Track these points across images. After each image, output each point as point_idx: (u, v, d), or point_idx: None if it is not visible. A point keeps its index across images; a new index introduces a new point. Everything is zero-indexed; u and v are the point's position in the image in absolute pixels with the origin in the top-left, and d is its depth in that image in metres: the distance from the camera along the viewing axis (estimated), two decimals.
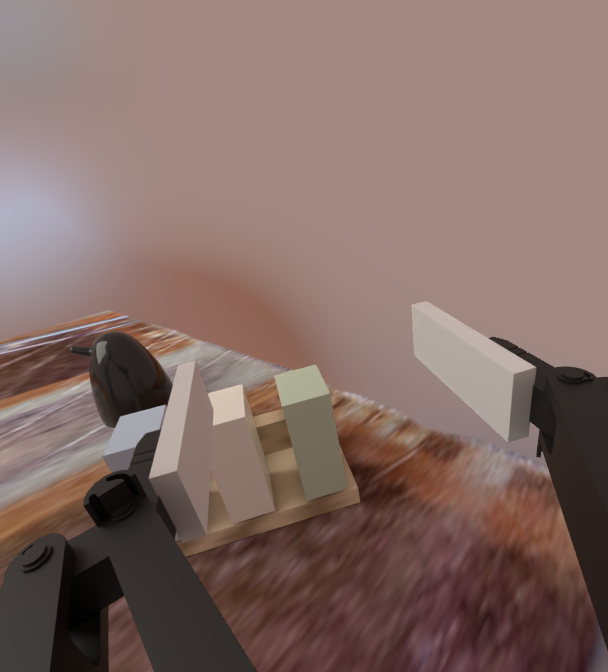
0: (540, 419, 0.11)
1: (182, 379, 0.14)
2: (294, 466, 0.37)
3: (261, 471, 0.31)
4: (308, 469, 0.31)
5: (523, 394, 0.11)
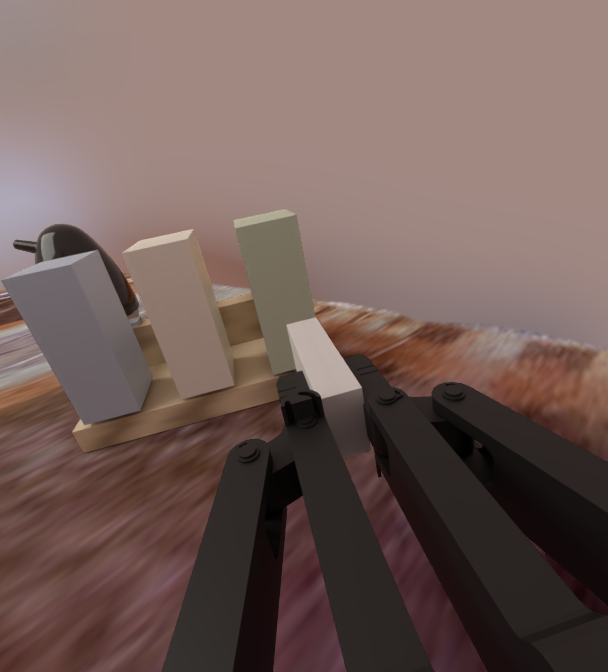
0: (373, 443, 0.11)
1: (297, 334, 0.16)
2: (263, 352, 0.31)
3: (213, 325, 0.25)
4: (273, 327, 0.25)
5: (355, 412, 0.12)
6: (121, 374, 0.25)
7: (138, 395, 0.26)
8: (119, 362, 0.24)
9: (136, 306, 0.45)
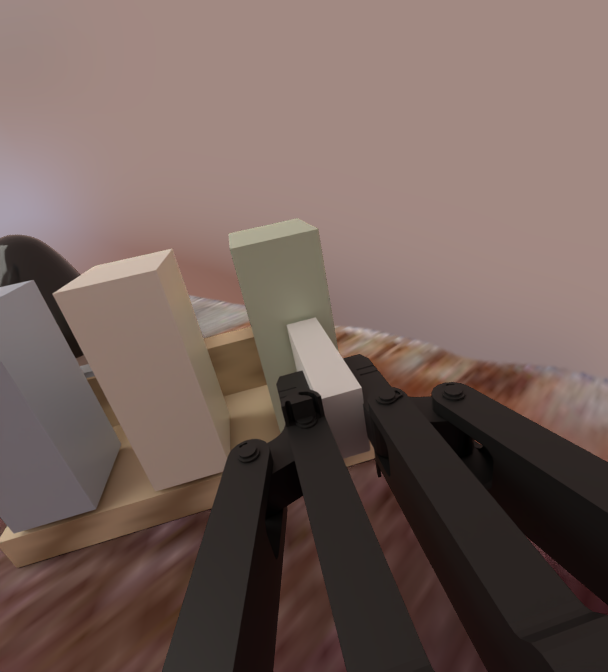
0: (373, 443, 0.11)
1: (298, 334, 0.16)
2: (269, 408, 0.24)
3: (199, 392, 0.17)
4: None
5: (354, 412, 0.12)
6: (63, 464, 0.17)
7: (93, 486, 0.18)
8: (60, 448, 0.17)
9: None
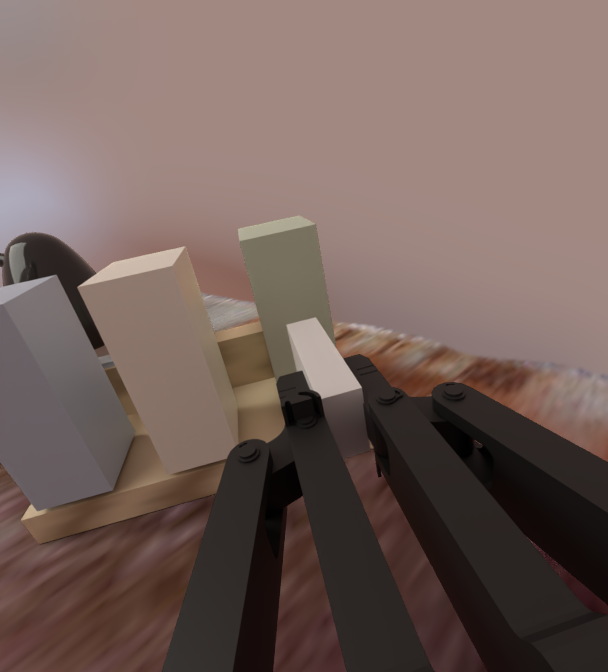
0: (373, 443, 0.11)
1: (298, 334, 0.16)
2: (275, 399, 0.25)
3: (210, 381, 0.18)
4: (285, 359, 0.21)
5: (354, 412, 0.12)
6: (84, 446, 0.18)
7: (110, 468, 0.20)
8: (81, 431, 0.18)
9: None
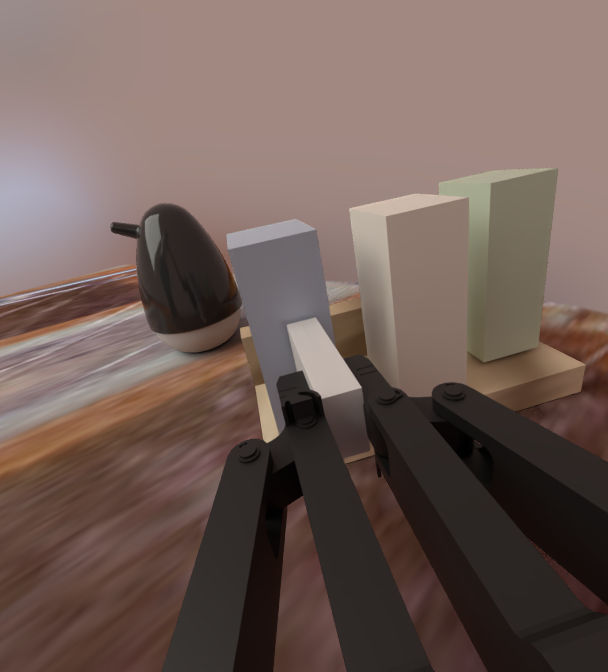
0: (373, 443, 0.11)
1: (298, 334, 0.16)
2: None
3: (465, 317, 0.18)
4: (498, 306, 0.22)
5: (354, 412, 0.12)
6: None
7: None
8: None
9: (241, 300, 0.39)
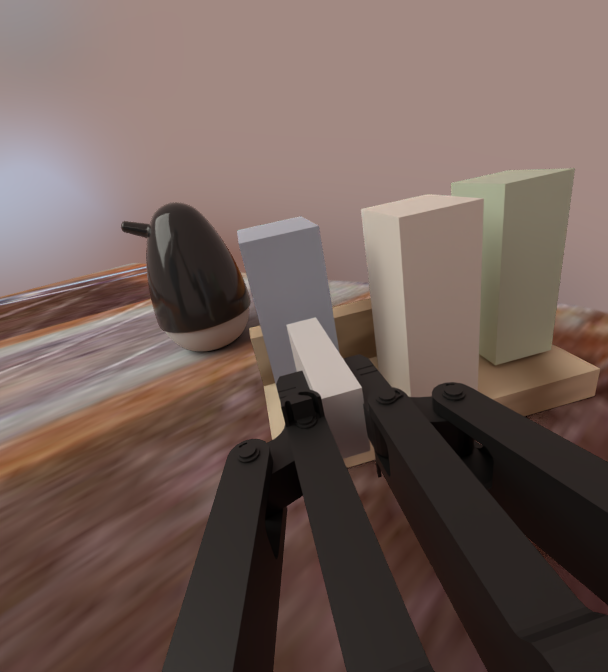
0: (373, 443, 0.11)
1: (297, 334, 0.16)
2: None
3: (478, 320, 0.18)
4: (511, 308, 0.21)
5: (354, 412, 0.12)
6: None
7: None
8: (338, 348, 0.21)
9: (250, 300, 0.39)
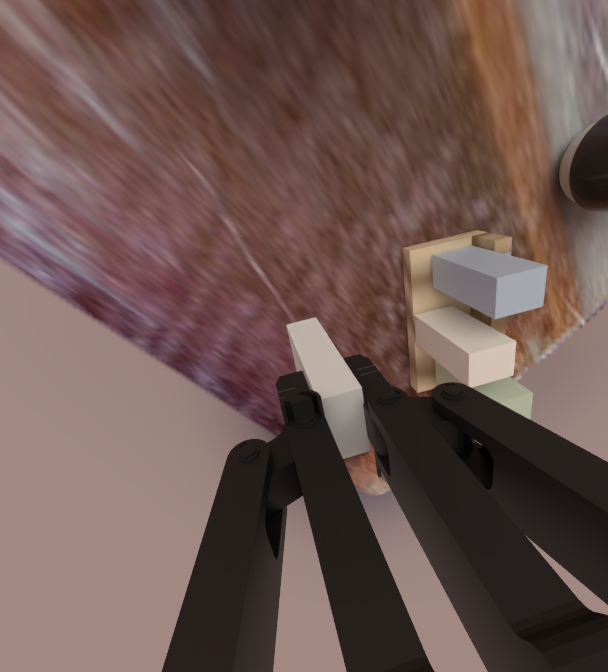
0: (373, 443, 0.11)
1: (297, 334, 0.16)
2: None
3: (437, 360, 0.41)
4: (451, 378, 0.44)
5: (355, 412, 0.12)
6: (447, 293, 0.40)
7: None
8: (453, 296, 0.39)
9: None
